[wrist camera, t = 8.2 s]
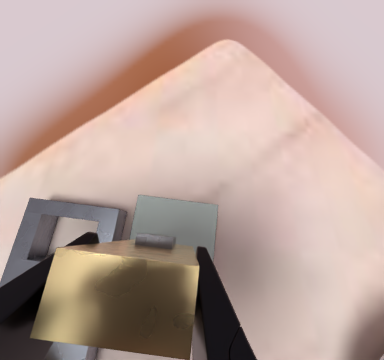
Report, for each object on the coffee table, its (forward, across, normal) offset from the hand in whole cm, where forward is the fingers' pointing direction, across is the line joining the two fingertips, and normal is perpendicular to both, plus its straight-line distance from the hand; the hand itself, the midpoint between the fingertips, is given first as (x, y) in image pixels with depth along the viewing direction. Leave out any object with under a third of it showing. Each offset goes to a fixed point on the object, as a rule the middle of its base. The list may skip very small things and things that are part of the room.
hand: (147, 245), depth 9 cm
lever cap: (+4, 0, +6) cm, 7 cm away
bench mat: (+8, 0, +10) cm, 13 cm away
